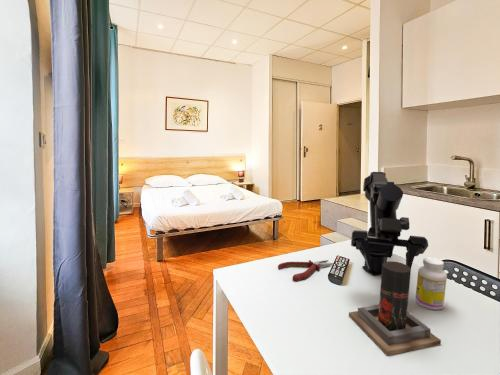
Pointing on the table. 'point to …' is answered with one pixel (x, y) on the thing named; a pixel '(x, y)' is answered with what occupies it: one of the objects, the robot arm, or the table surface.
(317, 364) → the table surface
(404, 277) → the deodorant
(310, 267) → the pliers
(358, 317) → the socket board
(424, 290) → the supplement bottle
